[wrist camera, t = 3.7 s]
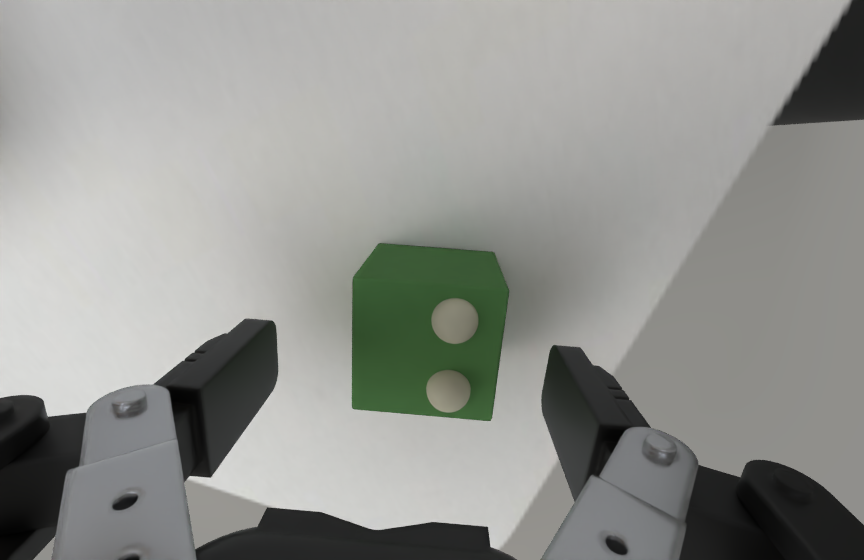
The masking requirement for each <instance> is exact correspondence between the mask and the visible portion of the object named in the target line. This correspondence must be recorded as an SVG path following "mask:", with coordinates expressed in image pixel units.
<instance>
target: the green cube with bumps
mask: <svg viewBox="0 0 864 560" xmlns="http://www.w3.org/2000/svg"><path fill="white" fill-rule="evenodd" d="M508 297H509V289H508V286H507V284H506V281H505V279H504V276H503V274H502V271H501V269H500V266H499V264H498V261H497V258H496V256H495V253H494V252H486V251H473V250H460V249H447V248H434V247H421V246H408V245H395V244H383V243H380V244H378V245H377V246H376V248H375V249H374V250H373V252H372V253H371V254H370V256H369V257H368V258H367V260H366V261H365V262H364V264H363V265H362V266H361V268H360V269H359V270H358V272H357V273H356V274H355V276H354V277H353V297H352V408H353V409H358V410H369V411H381V412H392V413H404V414H415V415H426V416H438V417H449V418H461V419H472V420H483V421H491V419H492V414H493V406H494V399H495V392H496V384H497V377H498V370H499V362H500V355H501V348H502V340H503V333H504V326H505V319H506V311H507V304H508Z"/></svg>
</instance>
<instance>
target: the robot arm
mask: <svg viewBox="0 0 864 560" xmlns="http://www.w3.org/2000/svg"><path fill="white" fill-rule="evenodd" d="M277 377H278V354H277V333H276V325H275V323H274V322H273V321H269V320H258V319H244V320H243V321H242V322H241V323H239V324H238V325H237V326H236V327H235V328H234V329H232V330H231V331H230V332H229V333H228V334H225V333H224V334H222V335H220V336H218V337H215V338H213V339H211V340H208V341H207V342H205V343H204V344H203V345H202V346H200V347H199V348H198V349H197V350H195V353H192V354H190V355H189V356H188V357H187V358H185V361H182V362H181V363H179V364H178V365H177V366H176V367H174V368H173V369H172V370H171V371H169V372H168V373H167V374H166V375H164V376H163V377H162V378H161V379H159V380H158V381H157V382H156V383H155V384H153V385H149V384H148V385H136V386H130V387H126V388H122V389H119V390H116V391H114V392H111V393H109V394H107V395H105V396H103V397H101V398H100V399H98V400H97V401H95V402H94V403H93V404H92V405H91V406H90V407H89V409H88V410H87V413H79V414H70V415H61V416H52V417H47V413H46V409H45V405H44V401H43V400H42V399H41V398H39V397H36V396H30V395H18V396H9V397H4V398H0V560H33V559H34V558H35V557H36V556H37V555H38V553H40V551H41V550H42V549H43V548H44V547H45V546H46V545H47V544H48V543H49V542H50V541H51V540H52V538H54V537H55V542H54V547H53V554H52V560H517V559H515V558H514V557H512V556H510V555H508V554H505V553H504V552H501V551H499V550H497V549H494V548H491V547H490V541H489V532H488V527H482V526H471V525H460V524H449V523H437V522H431V523H425V524H418V525H411V526H404V527H397V528H391V529H384V530H372V529H368V528H365V527H362V526H359V525H357V524H354V523H351V522H348V521H345V520H342V519H339V518H336V517H333V516H331V515H328V514H325V513H322V512H313V511H301V510H290V509H279V508H267V509H266V511H265V513H264V515H263V517H262V519H261V521H260V523H259V525H258V527H254V528H249V529H245V530H240V531H236V532H233V533H230V534H228V535H225V536H222V537H220V538H217V539H215V540H213V541H211V542H208V543H206V544H205V545H203V546H201V547H199V548H197V549H195V546H194V540H193V534H192V527H191V521H190V515H189V509H188V503H187V496H186V490H185V485H184V482H185V481H186V480H187V478H188V477H189V476H198V477H210V478H211V477H212V475H213V474H214V472H215V471H216V470H217V468H218V467H219V465H220V464H221V463H222V461H223V460H224V458H225V457H226V456H227V454H228V453H229V451H230V450H231V449H232V447H233V446H234V444H235V443H236V442H237V440H238V439H239V437H240V436H241V435H242V433H243V432H244V430H245V429H246V428H247V426H248V425H249V423H250V422H251V421H252V419H253V418H254V416H255V415H256V414H257V412H258V411H259V409H260V408H261V407H262V405H263V404H264V402H265V401H266V400H267V398H268V397H269V395H270V394H271V393H272V391H273V389H274V387H275V385H276V381H277ZM541 403H542V412H543V416H544V419H545V421H546V424H547V427H548V430H549V433H550V435H551V438H552V441H553V444H554V446H555V449H556V452H557V455H558V457H559V460H560V463H561V466H562V468H563V471H564V473H565V477H566V479H567V482H568V485H569V488H570V490H571V493H572V496H573V499H574V501H575V503H574V504H573V506H572V508H571V510H570V511H569V513H568V514H567V516H566V518H565V519H564V521H563V523H562V524H561V526H560V528H559V529H558V531H557V533H556V534H555V536H554V538H553V540H552V541H551V543H550V545H549V546H548V548H547V550H546V551H545V553H544V555H543V556H542V558H541V560H864V525H863V524H862V523H861V522H860V521H859V520H858V519H857V518H856V517H855V516H854V515H852V513H851V512H849V511H848V510H847V509H846V508H845V507H844V506H843V505H842V504H841V503H840V502H839V501H838V500H837V499H836V498H835V497H834V496H833V495H832V494H831V493H830V492H828V491H827V490H826V489H825V488H824V487H823V486H821V485H820V484H819V483H817V482H816V481H814V480H812V479H811V478H810V477H808V476H806V475H804V474H803V473H801V472H798V471H797V470H794V469H792V468H790V467H787V466H785V465H782V464H779V463H775V462H771V461H766V460H753V461H750V462H748V463H747V464H746V465H745V468H744V470H743V473H742V475H741V478H740V477H737V476H734V475H730V474H726V473H723V472H720V471H717V470H713V469H710V468H706V467H703V466H700V465H698V460H697V458H696V456H695V454H694V453H693V452H692V450H690V449H689V447H688V446H686V445H685V444H684V443H683V442H681V441H680V440H678V439H677V438H675V437H673V436H671V435H669V434H667V433H665V432H662V431H660V430H656V429H653V428H651V427H650V426H649V424H648V423H647V422H646V420H645V419H644V418H643V416H642V415H641V413H640V412H639V411H638V410H637V408H636V407H635V405H634V404H633V403H632V401H631V400H629V397H628V396H627V394H626V393H625V392H624V391H623V390H622V387H621V386H620V385H619V384H618V382H617V381H616V379H615V378H614V377H613V376H612V375H611V374H609V373H608V372H607V371H605V370H604V369H602V368H601V367H600V366H594V365H592V364H591V362H590V361H589V359H588V358H587V356H586V355H585V353H584V352H583V350H582V349H581V348H580V347H570V346H558V345H553V346H552V348H551V350H550V353H549V358H548V364H547V369H546V374H545V380H544V385H543V390H542V399H541ZM55 535H56V536H55Z"/></svg>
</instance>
